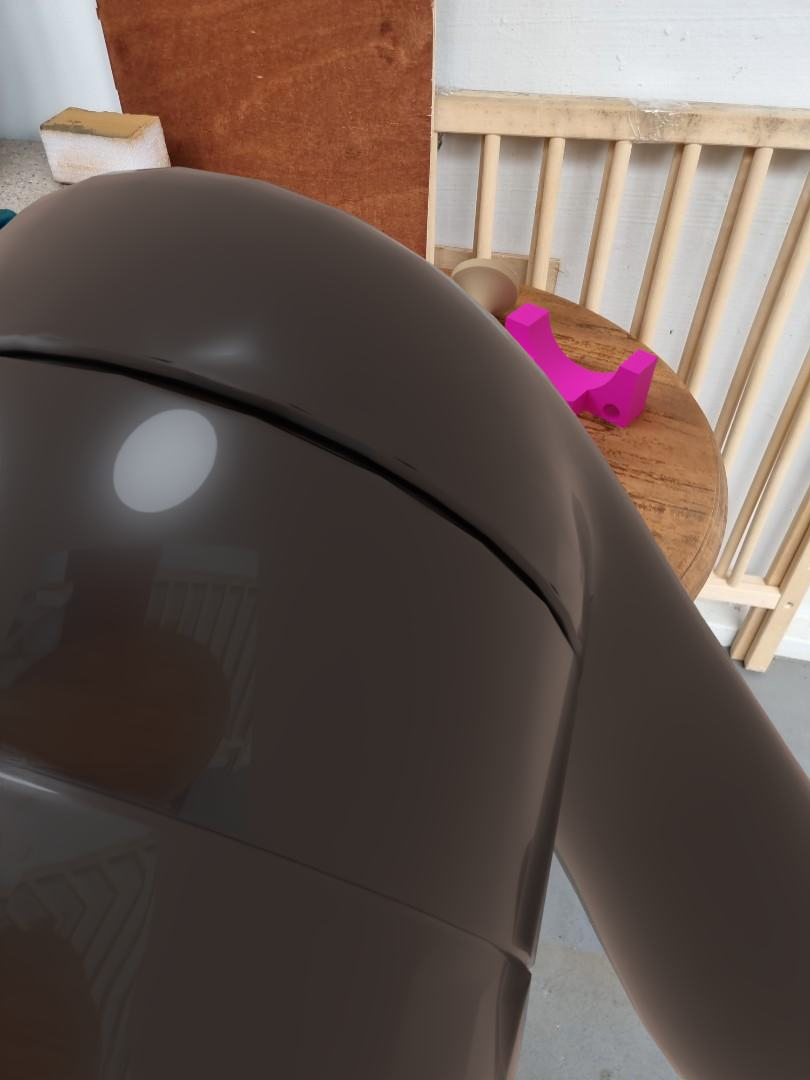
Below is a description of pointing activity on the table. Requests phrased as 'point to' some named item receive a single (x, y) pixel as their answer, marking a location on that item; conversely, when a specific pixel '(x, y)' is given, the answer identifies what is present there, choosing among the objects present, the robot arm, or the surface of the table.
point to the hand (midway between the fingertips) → (427, 503)
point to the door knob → (488, 284)
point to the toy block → (584, 371)
